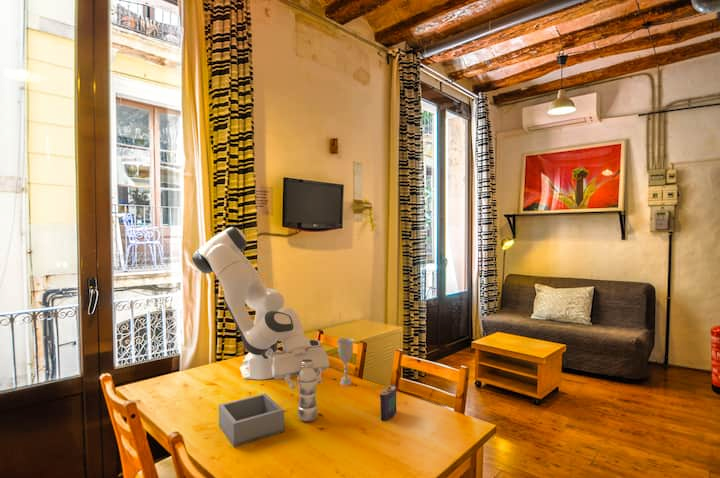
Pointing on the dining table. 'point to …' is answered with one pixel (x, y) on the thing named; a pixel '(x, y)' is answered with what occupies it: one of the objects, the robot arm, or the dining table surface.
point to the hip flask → (388, 403)
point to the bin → (250, 419)
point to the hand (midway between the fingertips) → (306, 385)
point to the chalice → (345, 356)
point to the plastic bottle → (307, 391)
